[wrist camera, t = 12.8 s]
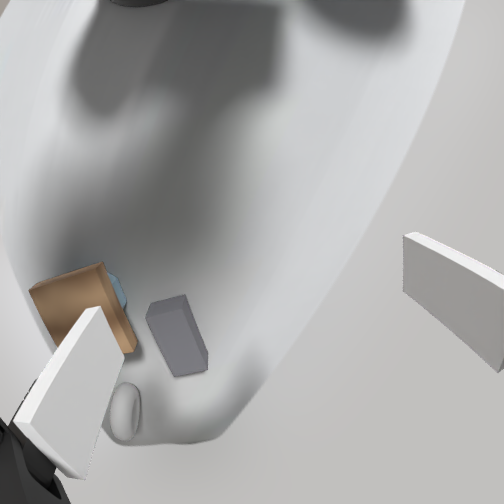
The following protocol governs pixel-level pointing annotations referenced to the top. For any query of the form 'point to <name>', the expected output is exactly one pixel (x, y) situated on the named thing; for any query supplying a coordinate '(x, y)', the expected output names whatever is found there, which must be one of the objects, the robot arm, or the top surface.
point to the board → (81, 304)
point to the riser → (177, 335)
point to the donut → (125, 411)
